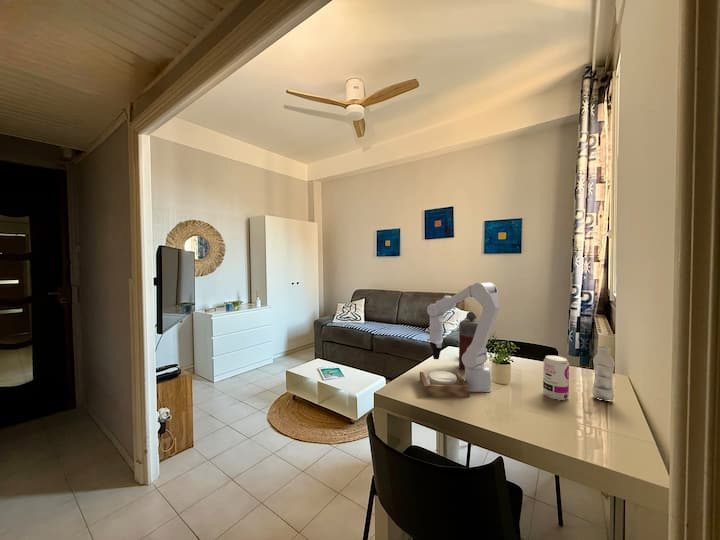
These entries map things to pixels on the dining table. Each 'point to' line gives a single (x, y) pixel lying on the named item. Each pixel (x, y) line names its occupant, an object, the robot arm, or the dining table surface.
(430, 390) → the shallow wooden tray
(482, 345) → the robot arm
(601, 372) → the plastic bottle
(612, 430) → the dining table surface
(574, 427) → the dining table surface
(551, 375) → the supplement can
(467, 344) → the dark red bottle
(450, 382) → the ramekin
